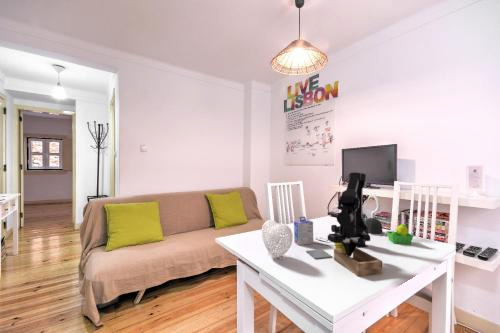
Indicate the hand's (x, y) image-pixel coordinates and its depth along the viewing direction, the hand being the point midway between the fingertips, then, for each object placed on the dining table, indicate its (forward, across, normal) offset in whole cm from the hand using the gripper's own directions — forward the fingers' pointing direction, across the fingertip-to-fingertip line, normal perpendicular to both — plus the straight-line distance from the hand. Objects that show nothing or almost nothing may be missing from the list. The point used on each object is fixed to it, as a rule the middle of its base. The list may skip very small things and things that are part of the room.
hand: (349, 256), depth 102 cm
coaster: (+2, +9, -11) cm, 14 cm away
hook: (0, -45, -34) cm, 57 cm away
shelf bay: (+3, 0, +4) cm, 5 cm away
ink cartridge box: (+2, +8, -28) cm, 29 cm away
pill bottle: (+1, 0, -3) cm, 4 cm away
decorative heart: (+3, +30, -12) cm, 33 cm away
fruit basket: (+1, -46, -15) cm, 48 cm away
